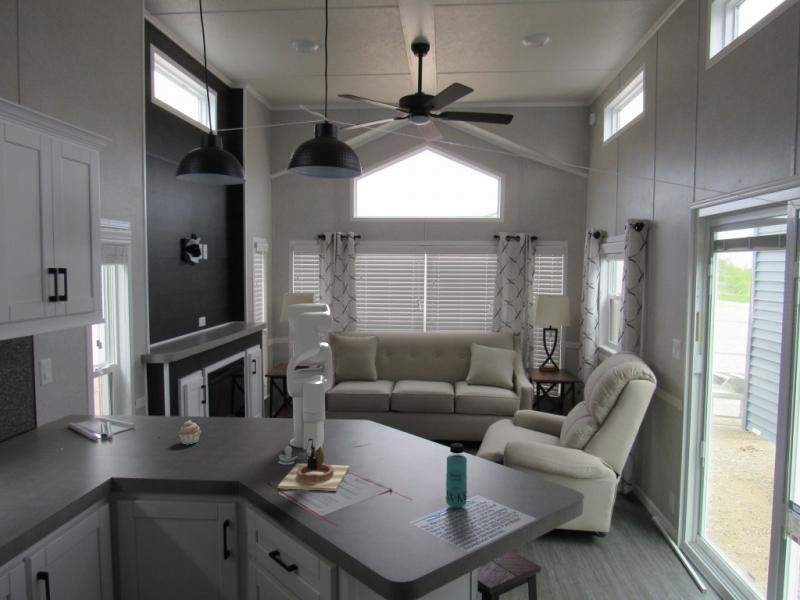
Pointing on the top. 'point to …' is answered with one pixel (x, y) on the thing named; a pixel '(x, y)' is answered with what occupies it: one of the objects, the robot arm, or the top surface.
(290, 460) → the pacifier
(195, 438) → the cupcake
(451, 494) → the beverage bottle
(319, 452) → the fruit
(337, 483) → the ring board
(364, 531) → the top surface
